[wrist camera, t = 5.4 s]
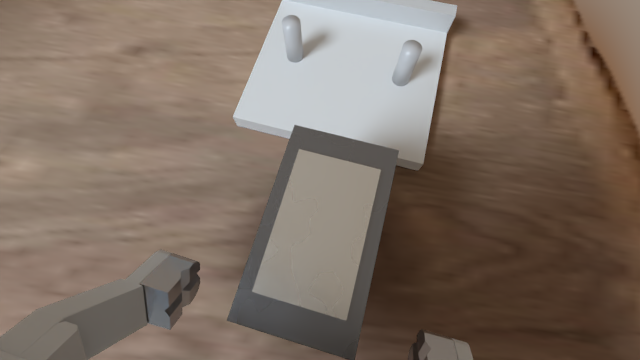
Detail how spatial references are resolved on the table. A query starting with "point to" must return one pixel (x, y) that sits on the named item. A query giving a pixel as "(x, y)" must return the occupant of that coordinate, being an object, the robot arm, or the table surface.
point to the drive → (318, 242)
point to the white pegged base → (351, 72)
